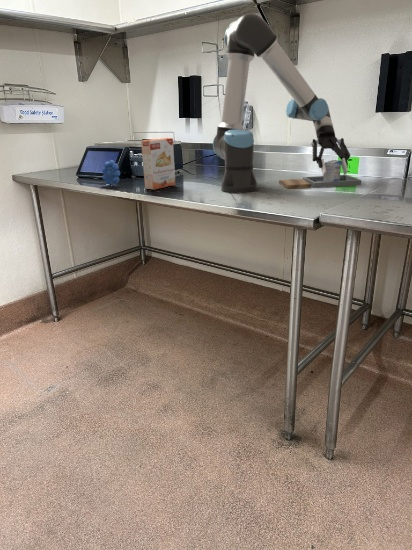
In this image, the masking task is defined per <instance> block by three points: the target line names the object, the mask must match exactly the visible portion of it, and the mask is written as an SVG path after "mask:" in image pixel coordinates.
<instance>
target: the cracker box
mask: <svg viewBox="0 0 412 550" xmlns="http://www.w3.org/2000/svg"><path fill="white" fill-rule="evenodd" d="M140 141H141V142H140V143H141V154H142V155H141V156H142V166H143V178H144V189H145V188H147V189H159V188H163V187H167V186H172V185H175V186H176V173H175V171H176V170H175V169H176V168H175V154H174V139H173V137H172V138H171V137H162V138H152V139H144V140H140Z"/></svg>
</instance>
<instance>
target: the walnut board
mask: <svg viewBox="0 0 412 550" xmlns="http://www.w3.org/2000/svg"><path fill="white" fill-rule="evenodd" d="M278 184H279V185H281V186H282V187H283V188H285V189H286V190H291V189H292V190H293V189H309V188H312V187H311V184H310V183H308V182H306V181H305V180H303V178H294V179H293V178H291V179H280V180H278Z"/></svg>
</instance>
